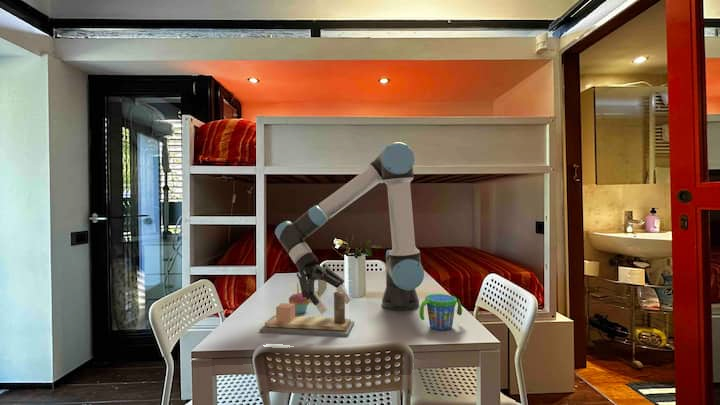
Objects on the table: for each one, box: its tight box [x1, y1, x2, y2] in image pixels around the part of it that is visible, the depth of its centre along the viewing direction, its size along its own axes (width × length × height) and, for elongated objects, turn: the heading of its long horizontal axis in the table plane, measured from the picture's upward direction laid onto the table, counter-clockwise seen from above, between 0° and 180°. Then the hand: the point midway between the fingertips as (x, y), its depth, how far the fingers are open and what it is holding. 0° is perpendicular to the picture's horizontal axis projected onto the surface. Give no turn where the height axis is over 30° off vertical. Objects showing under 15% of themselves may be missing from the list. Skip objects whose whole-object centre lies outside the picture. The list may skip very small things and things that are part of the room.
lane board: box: [259, 320, 355, 338], centre depth 128 cm, size 30×12×1 cm, turn 81°
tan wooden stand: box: [264, 291, 351, 330], centre depth 128 cm, size 28×8×11 cm, turn 81°
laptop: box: [299, 273, 328, 298], centre depth 174 cm, size 18×13×13 cm
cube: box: [275, 302, 296, 323], centre depth 130 cm, size 5×5×5 cm
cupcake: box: [288, 281, 311, 314], centre depth 148 cm, size 9×8×12 cm
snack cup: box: [418, 293, 463, 331], centre depth 128 cm, size 16×10×10 cm
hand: (337, 306), depth 126 cm, fingers open, 13 cm apart
